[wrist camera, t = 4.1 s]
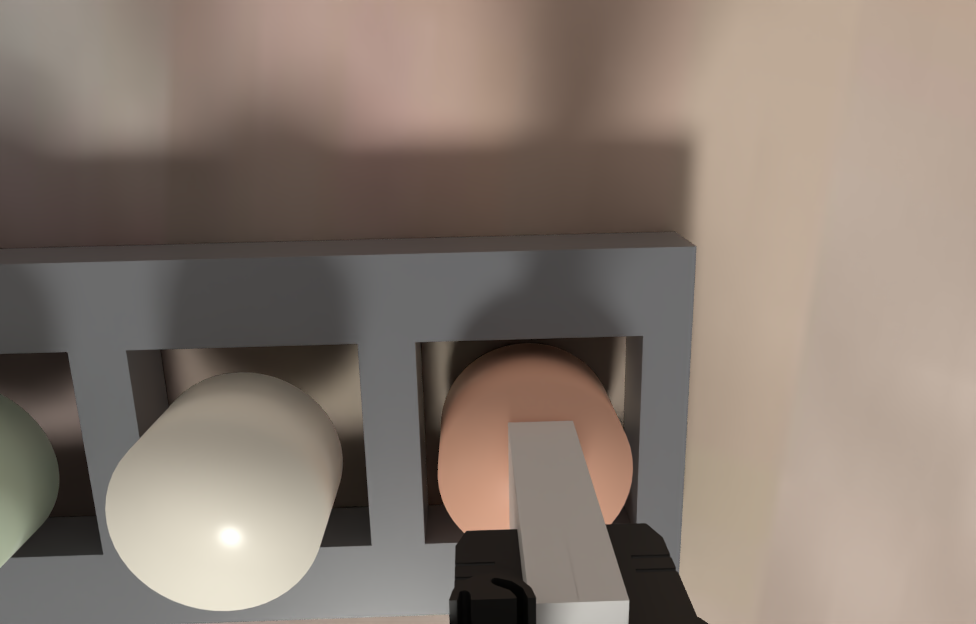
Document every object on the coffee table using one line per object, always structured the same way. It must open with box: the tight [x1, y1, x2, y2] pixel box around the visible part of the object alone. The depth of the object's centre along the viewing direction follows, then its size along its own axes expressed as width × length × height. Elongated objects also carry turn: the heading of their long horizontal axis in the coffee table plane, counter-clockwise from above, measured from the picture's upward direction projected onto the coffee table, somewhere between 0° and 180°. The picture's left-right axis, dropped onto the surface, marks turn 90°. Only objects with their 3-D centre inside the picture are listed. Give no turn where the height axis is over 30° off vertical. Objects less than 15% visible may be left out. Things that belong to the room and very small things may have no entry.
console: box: [0, 232, 696, 624], centre depth 21 cm, size 22×10×2 cm, turn 91°
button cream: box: [105, 372, 343, 611], centre depth 18 cm, size 5×5×3 cm
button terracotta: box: [438, 343, 633, 533], centre depth 20 cm, size 5×5×3 cm
